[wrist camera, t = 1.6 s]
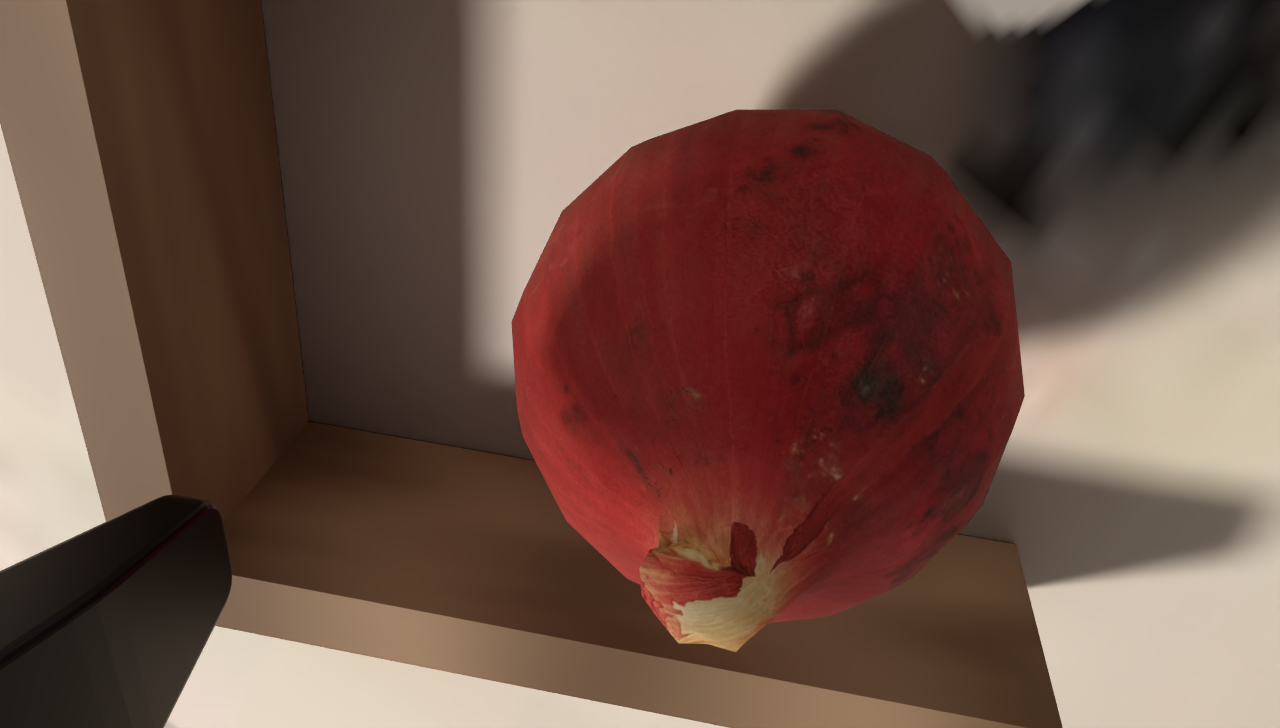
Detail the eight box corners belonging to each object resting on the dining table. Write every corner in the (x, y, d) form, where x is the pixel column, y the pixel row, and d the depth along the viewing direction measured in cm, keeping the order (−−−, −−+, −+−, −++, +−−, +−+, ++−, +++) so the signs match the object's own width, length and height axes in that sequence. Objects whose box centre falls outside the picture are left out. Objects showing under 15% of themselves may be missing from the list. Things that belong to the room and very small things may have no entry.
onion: (814, -52, 12) (800, 126, 6) (1054, 267, 14) (1267, 702, 7) (515, 211, 15) (260, 548, 8) (746, 455, 17) (691, 904, 10)
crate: (1301, -198, 11) (1518, -199, 7) (996, 593, 17) (1037, 787, 14) (137, -311, 12) (-126, -352, 9) (256, 461, 19) (129, 608, 15)
